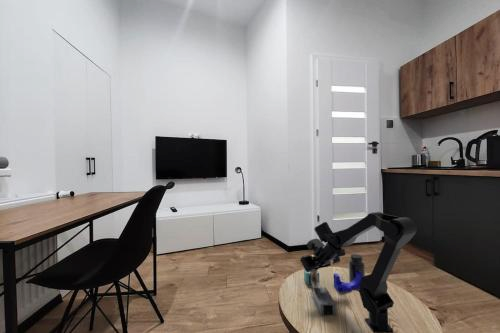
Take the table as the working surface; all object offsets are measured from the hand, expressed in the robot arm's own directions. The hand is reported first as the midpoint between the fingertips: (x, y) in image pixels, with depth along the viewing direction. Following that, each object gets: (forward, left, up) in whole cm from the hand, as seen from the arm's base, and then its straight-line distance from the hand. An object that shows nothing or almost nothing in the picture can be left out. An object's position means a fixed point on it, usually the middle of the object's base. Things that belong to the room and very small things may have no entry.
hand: (311, 268), depth 111 cm
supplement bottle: (+3, -22, -8) cm, 23 cm away
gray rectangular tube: (-17, -1, -8) cm, 18 cm away
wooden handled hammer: (-5, -1, -7) cm, 8 cm away
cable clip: (-3, -16, -8) cm, 18 cm away
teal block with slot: (+4, -1, -8) cm, 8 cm away
